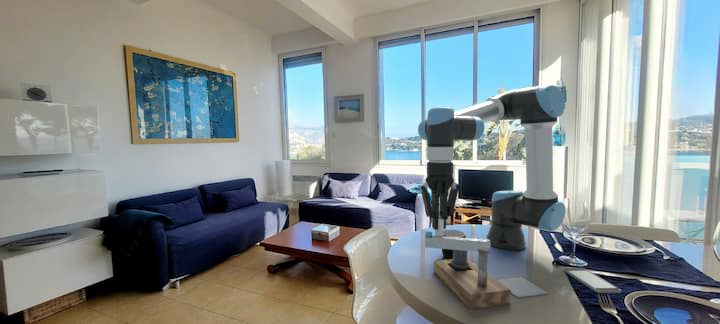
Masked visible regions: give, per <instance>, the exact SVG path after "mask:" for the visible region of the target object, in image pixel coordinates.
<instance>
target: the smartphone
mask: <svg viewBox="0 0 720 324" xmlns="http://www.w3.org/2000/svg"><path fill="white" fill-rule="evenodd" d="M563 272H564V273H566V274H567V275H569V276H570V277H572V278H573V279H575V280H576V281H578V282H579V283H581V284H582V285H585V287H587V288H589V289H590V290H592V291H593V292H595V293H596V294H621V293H622V289H621V288H619V287H617V286H615V285H614V284H612V283H611V282H608V281H607V280H606V279H603V278H601V277H600V276H599V275H597V274H595V273H593V272H591V271H590V270H588V269H586V268H584V267H566V268H565V267H564V268H563Z"/></svg>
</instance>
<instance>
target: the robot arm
mask: <svg viewBox="0 0 720 324" xmlns="http://www.w3.org/2000/svg"><path fill="white" fill-rule="evenodd" d="M565 109H566V100H565V96H564V94H563V92H562V90H561V89H560V88H559V87H558V86H557V85H556V84H540V85H536V86H530V87H525V88H523V87H522V88H519V89H511V90H509V91H506V92H505V91H504V92H503V93H501V94H497V95H495V96H492V97H489V98H487V99H485V101H484V102H483V103H480V104H476V105H473V106H470V107H466V108H463V109H461V110H460V109H459V110H457V111H455V110H454V108H452V107H432V108H430V109H429V110H428V111H427V119H424V120H422V121H420V122H419V124H418V126H417V133H418V136H419V138H420V139H422V140H423V141H426V159H427V163H426V178H425V182H424V183H423V184H418V185H417V187H418V190H419V191H420V193H421V198H422V200H423V205H424V209H425V210H424V211H425V215H426V216H427V217H429V218H430V219H431V218H432V222H431V223H432V224H431V225H432V229H433V230H434V236H443V234H444V230H447V229H446V228H447V220H448V219H449V217H452V216H453V215H454V211H455V205H456V202H457V197H458V194H459V192H460V190H461V188H462V185H461V184H459V183H457V182H456V181H455V178H454V177H453V175H454V163H453V161H454V157H455V156H454V146H455V144H454V143H455V141H457V142H459V141H462V142H464V141H467V142H468V141H469V142H472V141H477V140H479V139H480V138H482V137H483V134H484V132H485V124H486V123H489V122H492V123H497V122H499V121H507V120H509V121H511V120H520V125H521V126H522V127H523V128H524V130H525V132H524V133H525V135H524V136H525V137H524V138H525V140H524V141H525V170H526V171H525V173H526V174H525V179H526V182H525V183H526V189H525V191H524V192H523V191H521V190H500V191H499V190H498V191H495V192H494V193H492V196H491V221H490V226H489V229H488V232H487V234H486V239H488V240H490V241H491V242H490V246H491V245H492V247H494V248H497V249H500V250H501V249H502V250H506V251H507V250H509V251H520V250H525V248H526V245H527V244H526V239H525V235H524V232H523V227H522V226H527V227H530V228H533V229H538V230H539V231H545V232H554V231H556V230H558V229H559V228H560V227H561V225H562V223H563V221H564V219H565V216H566V209H567V208H566V205H565V203H563V202H562V201H559V194H558V193H556V192H555V191H554V164H553V158H554V154H553V151H554V150H553V149H554V148H553V143H554V141H553V127H554V125H556V124H557V123H558V118H560V117H562V115H563V114H564V113H565ZM429 190H430V193H429ZM430 194H431V198H430Z"/></svg>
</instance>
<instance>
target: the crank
mask: <svg viewBox="0 0 720 324" xmlns="http://www.w3.org/2000/svg"><path fill="white" fill-rule="evenodd" d="M490 242H491V241H490V240H488V239H487V238H485V237H484V238H482V237H479V238H473V237H472V238H470V237H466V238H459V237H445V236H435V235H433V232H432V231H429V230H428V231H425V232H424V248H429V249H439V250H440V249H441V250H442V249H452V250H464V251H468V252H478V253H479V252H480V253H488V254H490V253H491V245H490Z"/></svg>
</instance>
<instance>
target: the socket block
mask: <svg viewBox="0 0 720 324" xmlns="http://www.w3.org/2000/svg"><path fill="white" fill-rule="evenodd" d="M488 254H489V253H480V252H478V260H477V264H478V265H477V264H476V263H474V262H473V261H471V260H470V259H469V258H467V262H468V263H469V268H468V269H467V271H458V272H456V271H455V270H453V267H452V266H451V261H452V260H453V259H447V260H445V259H439V260H434V261H433V273H435V275H436V276H437V277H439V279H441V281H442V282H443V283H444V284H445V285H446V286H447V287H449V289H451V290H452V292H453V293H454V294H456V296H458V298H460V299H461V301H462V302H463V303H464V304H465V305H466V306H467V307H469V309H470V310H472V309H474V310H475V309H480V308H481V309H482V308H488V307H489V308H490V307H495V306H497V307H498V306H502V305H509V304H511V295H512V294H511V290H510V289H509V288H508V287H506V286H505V285H503V284H502V283H501V282H499V281H498V280H499V279H497V278H495V277H494V276H492V275H491V274H489V273H488V260H489V257H488V256H489V255H488Z"/></svg>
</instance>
